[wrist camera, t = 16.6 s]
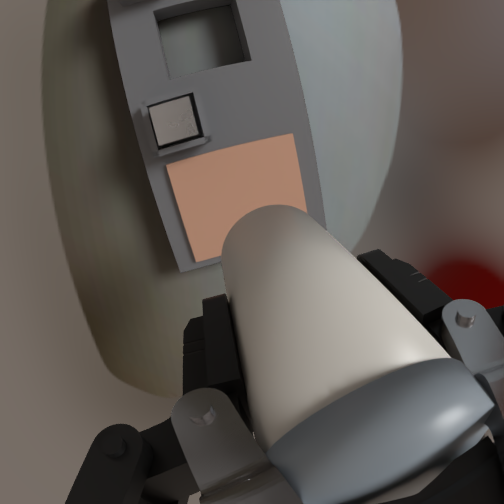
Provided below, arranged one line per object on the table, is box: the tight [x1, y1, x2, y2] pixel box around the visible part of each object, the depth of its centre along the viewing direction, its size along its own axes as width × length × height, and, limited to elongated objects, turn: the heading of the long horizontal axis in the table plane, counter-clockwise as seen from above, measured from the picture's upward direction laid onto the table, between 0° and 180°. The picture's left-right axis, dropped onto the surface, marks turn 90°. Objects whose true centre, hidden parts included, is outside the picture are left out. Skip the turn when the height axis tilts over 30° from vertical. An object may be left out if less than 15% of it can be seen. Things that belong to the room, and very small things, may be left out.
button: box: [149, 96, 199, 146], centre depth 17 cm, size 2×2×3 cm
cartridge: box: [221, 204, 495, 504], centre depth 8 cm, size 5×5×10 cm
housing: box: [107, 0, 327, 273], centre depth 19 cm, size 25×12×4 cm, turn 13°
